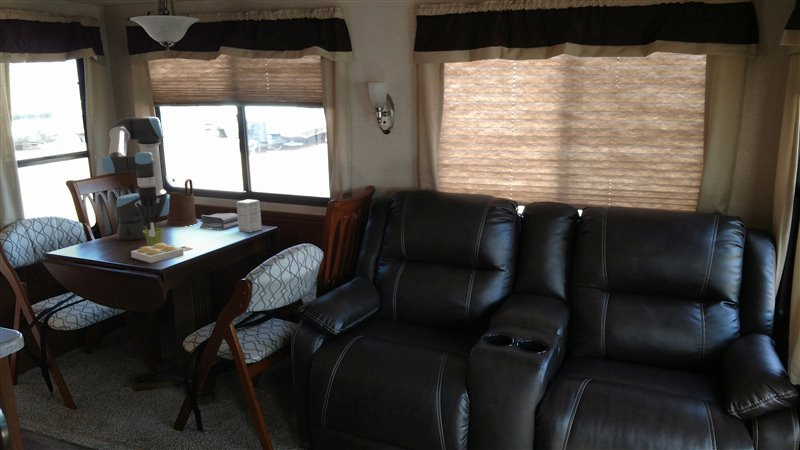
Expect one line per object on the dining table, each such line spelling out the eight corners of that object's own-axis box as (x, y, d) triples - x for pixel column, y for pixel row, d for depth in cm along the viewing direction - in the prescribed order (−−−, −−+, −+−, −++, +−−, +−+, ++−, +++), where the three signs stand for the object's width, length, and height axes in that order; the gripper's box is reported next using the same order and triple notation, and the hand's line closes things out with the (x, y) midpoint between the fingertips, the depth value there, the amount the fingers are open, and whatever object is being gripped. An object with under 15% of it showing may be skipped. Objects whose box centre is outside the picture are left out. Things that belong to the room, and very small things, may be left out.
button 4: (161, 252, 289) (160, 246, 289) (170, 250, 293) (169, 244, 292) (166, 254, 286) (166, 248, 286) (176, 252, 290) (175, 246, 289)
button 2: (146, 256, 283) (145, 250, 283) (156, 254, 287) (155, 247, 287) (152, 258, 280) (151, 251, 280) (162, 255, 284) (161, 249, 284)
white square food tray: (131, 257, 288) (130, 251, 287) (164, 249, 301) (163, 243, 300) (150, 263, 278) (150, 256, 277) (183, 254, 291) (182, 248, 290)
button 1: (138, 253, 288) (137, 247, 287) (147, 251, 292) (147, 245, 291) (143, 255, 285) (143, 249, 284) (153, 253, 289) (152, 247, 288)
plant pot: (152, 249, 301) (150, 233, 299) (140, 247, 306) (138, 231, 304) (168, 245, 308) (166, 229, 307) (156, 243, 313) (154, 227, 311)
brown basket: (159, 227, 352) (154, 184, 346) (180, 218, 375) (176, 178, 369) (188, 227, 349) (184, 185, 343) (208, 219, 372) (204, 178, 366)
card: (172, 249, 300) (172, 248, 300) (184, 246, 305) (184, 245, 305) (180, 252, 296) (180, 250, 296) (192, 249, 301) (192, 247, 301)
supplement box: (262, 229, 342) (260, 200, 338) (250, 232, 334) (248, 203, 330) (250, 227, 347) (248, 198, 343) (238, 230, 339) (236, 201, 335)
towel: (224, 230, 341) (223, 217, 339) (198, 228, 348) (197, 215, 346) (241, 225, 355) (240, 212, 353) (215, 223, 362) (214, 210, 360)
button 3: (152, 250, 294) (152, 244, 293) (162, 248, 298) (161, 242, 297) (158, 252, 291) (157, 246, 290) (167, 249, 295) (167, 243, 294)
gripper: (137, 188, 269) (143, 239, 274) (164, 185, 279) (169, 234, 284) (129, 187, 274) (134, 237, 279) (155, 183, 284) (160, 232, 289)
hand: (152, 236), depth 281 cm, fingers closed
